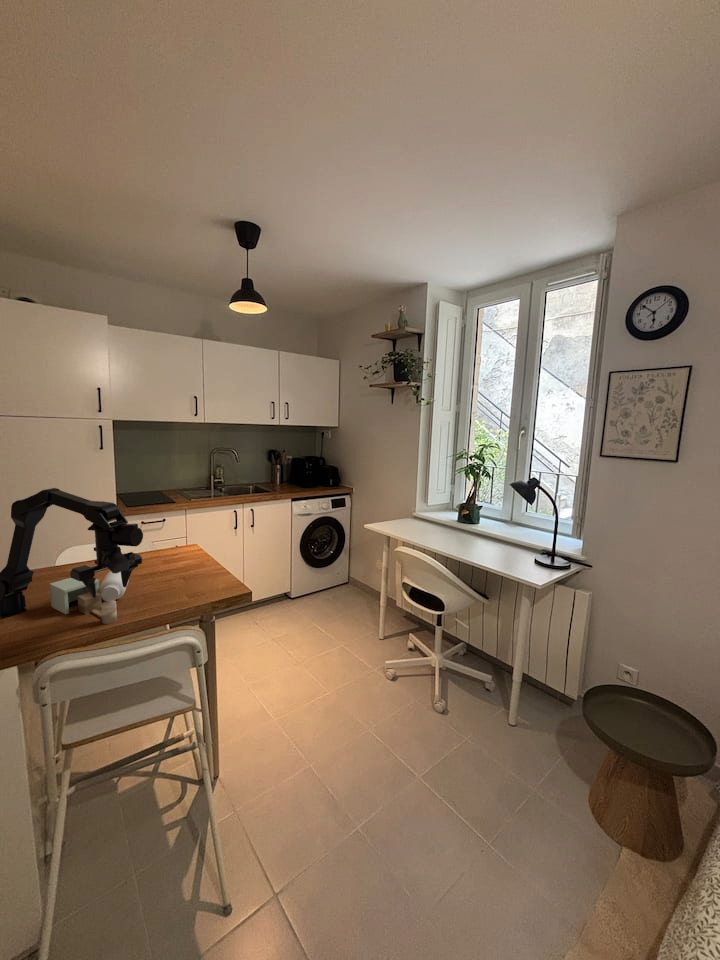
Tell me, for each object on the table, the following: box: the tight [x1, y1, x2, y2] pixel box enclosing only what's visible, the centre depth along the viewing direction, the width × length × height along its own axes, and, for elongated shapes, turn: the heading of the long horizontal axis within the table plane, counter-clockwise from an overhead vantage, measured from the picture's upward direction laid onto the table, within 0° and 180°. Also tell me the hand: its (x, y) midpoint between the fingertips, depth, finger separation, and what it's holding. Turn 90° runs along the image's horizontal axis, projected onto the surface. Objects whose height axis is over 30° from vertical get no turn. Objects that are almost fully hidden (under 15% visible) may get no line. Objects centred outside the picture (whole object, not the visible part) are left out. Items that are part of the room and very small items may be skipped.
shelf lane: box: [49, 577, 100, 615], centre depth 135 cm, size 10×10×8 cm
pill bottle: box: [99, 570, 130, 602], centre depth 143 cm, size 8×8×15 cm
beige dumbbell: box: [77, 592, 118, 625], centre depth 129 cm, size 5×18×6 cm, turn 57°
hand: (109, 592), depth 124 cm, fingers open, 9 cm apart
